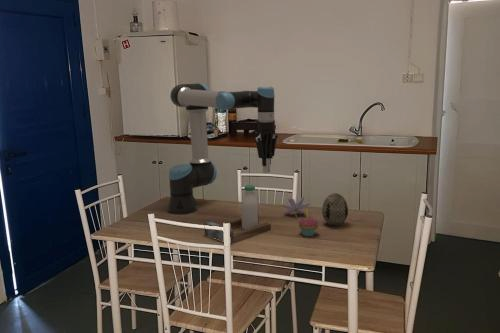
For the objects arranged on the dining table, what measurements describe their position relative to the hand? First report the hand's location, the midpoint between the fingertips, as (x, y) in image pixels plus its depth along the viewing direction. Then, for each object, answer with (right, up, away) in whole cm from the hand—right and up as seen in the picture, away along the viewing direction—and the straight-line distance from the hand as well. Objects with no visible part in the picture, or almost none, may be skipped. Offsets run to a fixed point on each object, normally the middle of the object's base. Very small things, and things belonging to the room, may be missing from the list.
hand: (266, 172), depth 207 cm
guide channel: (-13, -27, -8) cm, 31 cm away
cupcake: (+18, -27, -11) cm, 34 cm away
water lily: (+15, -22, +15) cm, 31 cm away
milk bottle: (-7, -26, -3) cm, 27 cm away
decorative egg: (+32, -25, 0) cm, 40 cm away
